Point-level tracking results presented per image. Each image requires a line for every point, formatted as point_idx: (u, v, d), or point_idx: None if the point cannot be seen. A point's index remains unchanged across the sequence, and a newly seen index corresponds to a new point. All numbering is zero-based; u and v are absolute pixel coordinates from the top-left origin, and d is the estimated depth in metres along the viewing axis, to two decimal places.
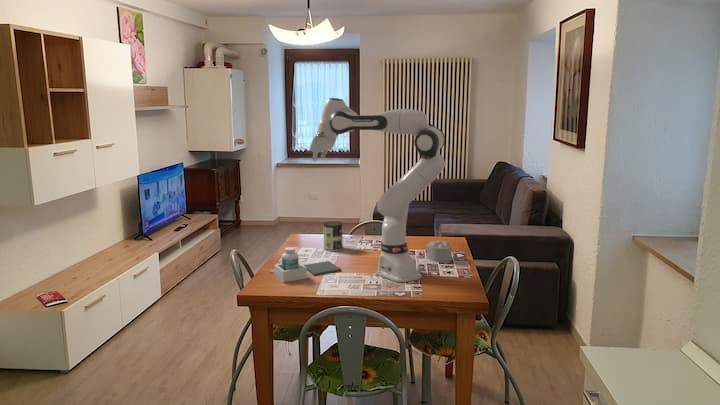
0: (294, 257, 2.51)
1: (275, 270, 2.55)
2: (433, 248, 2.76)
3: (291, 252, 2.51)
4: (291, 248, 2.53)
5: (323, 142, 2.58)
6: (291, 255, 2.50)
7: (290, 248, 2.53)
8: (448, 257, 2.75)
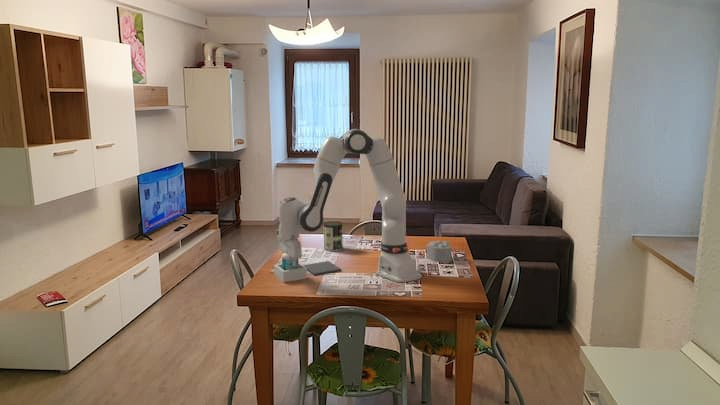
0: None
1: (275, 270, 2.55)
2: (433, 248, 2.76)
3: None
4: None
5: None
6: None
7: None
8: (448, 257, 2.75)
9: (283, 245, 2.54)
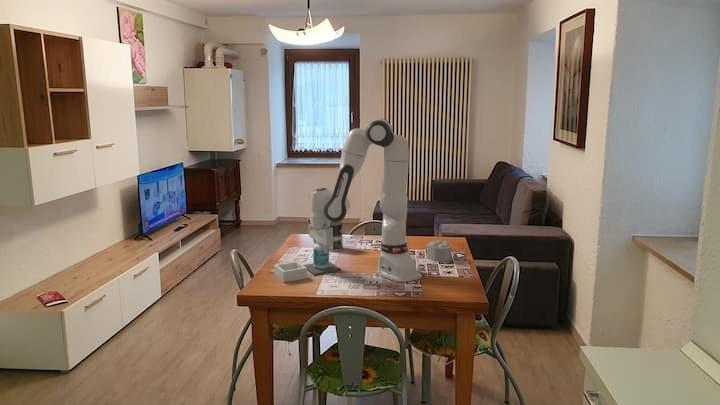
0: None
1: (275, 270, 2.55)
2: (433, 248, 2.77)
3: None
4: None
5: None
6: (322, 246, 2.61)
7: None
8: (448, 257, 2.75)
9: (314, 234, 2.64)
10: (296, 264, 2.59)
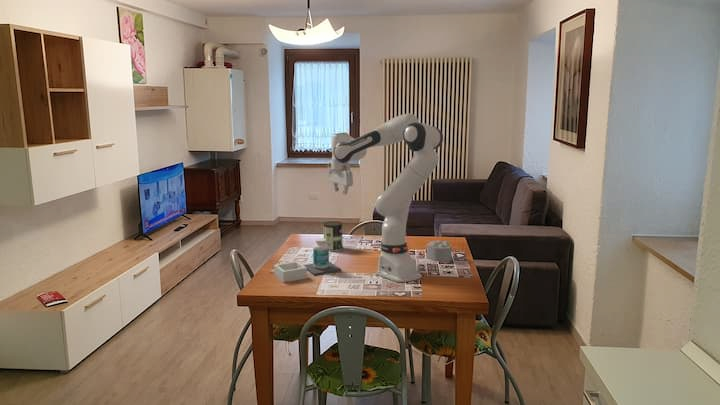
0: (325, 248, 2.61)
1: (275, 270, 2.55)
2: (433, 248, 2.77)
3: (322, 243, 2.61)
4: (322, 239, 2.63)
5: None
6: (322, 246, 2.61)
7: (321, 239, 2.63)
8: (448, 257, 2.75)
9: (334, 176, 2.80)
10: (296, 264, 2.59)
